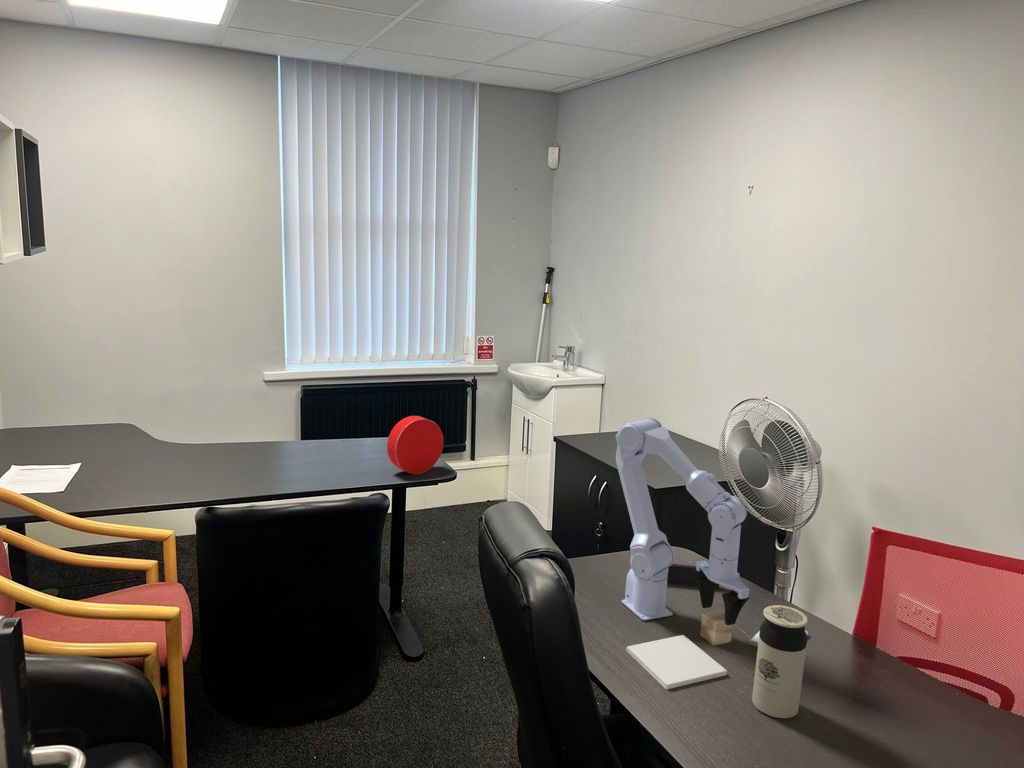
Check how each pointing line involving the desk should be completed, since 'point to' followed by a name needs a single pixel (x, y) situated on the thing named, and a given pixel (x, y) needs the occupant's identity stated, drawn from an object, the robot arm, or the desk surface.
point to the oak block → (715, 628)
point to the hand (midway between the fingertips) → (718, 615)
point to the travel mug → (780, 661)
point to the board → (675, 661)
